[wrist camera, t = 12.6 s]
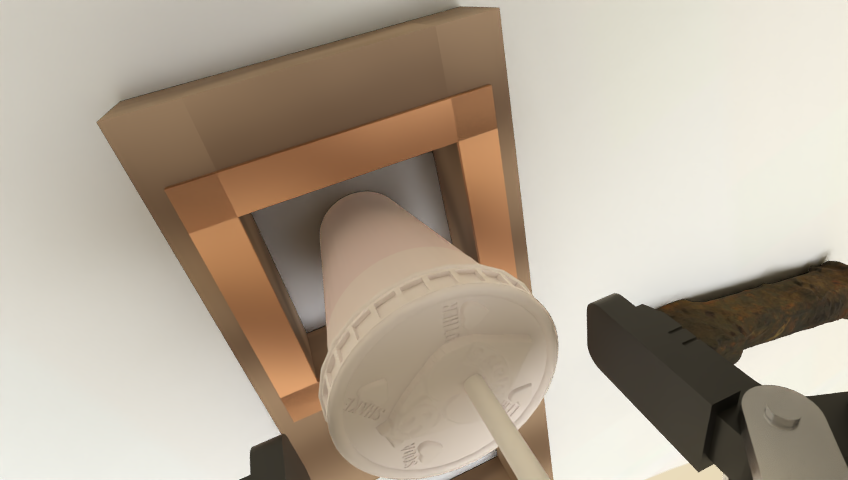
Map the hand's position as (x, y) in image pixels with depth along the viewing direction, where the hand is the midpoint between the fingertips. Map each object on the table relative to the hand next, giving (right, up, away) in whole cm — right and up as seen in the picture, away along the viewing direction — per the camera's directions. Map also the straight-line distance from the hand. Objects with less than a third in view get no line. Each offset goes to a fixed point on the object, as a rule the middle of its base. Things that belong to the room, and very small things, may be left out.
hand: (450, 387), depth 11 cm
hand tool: (+20, -1, +21) cm, 29 cm away
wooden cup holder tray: (-2, -2, +12) cm, 12 cm away
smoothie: (-3, +4, +8) cm, 10 cm away
